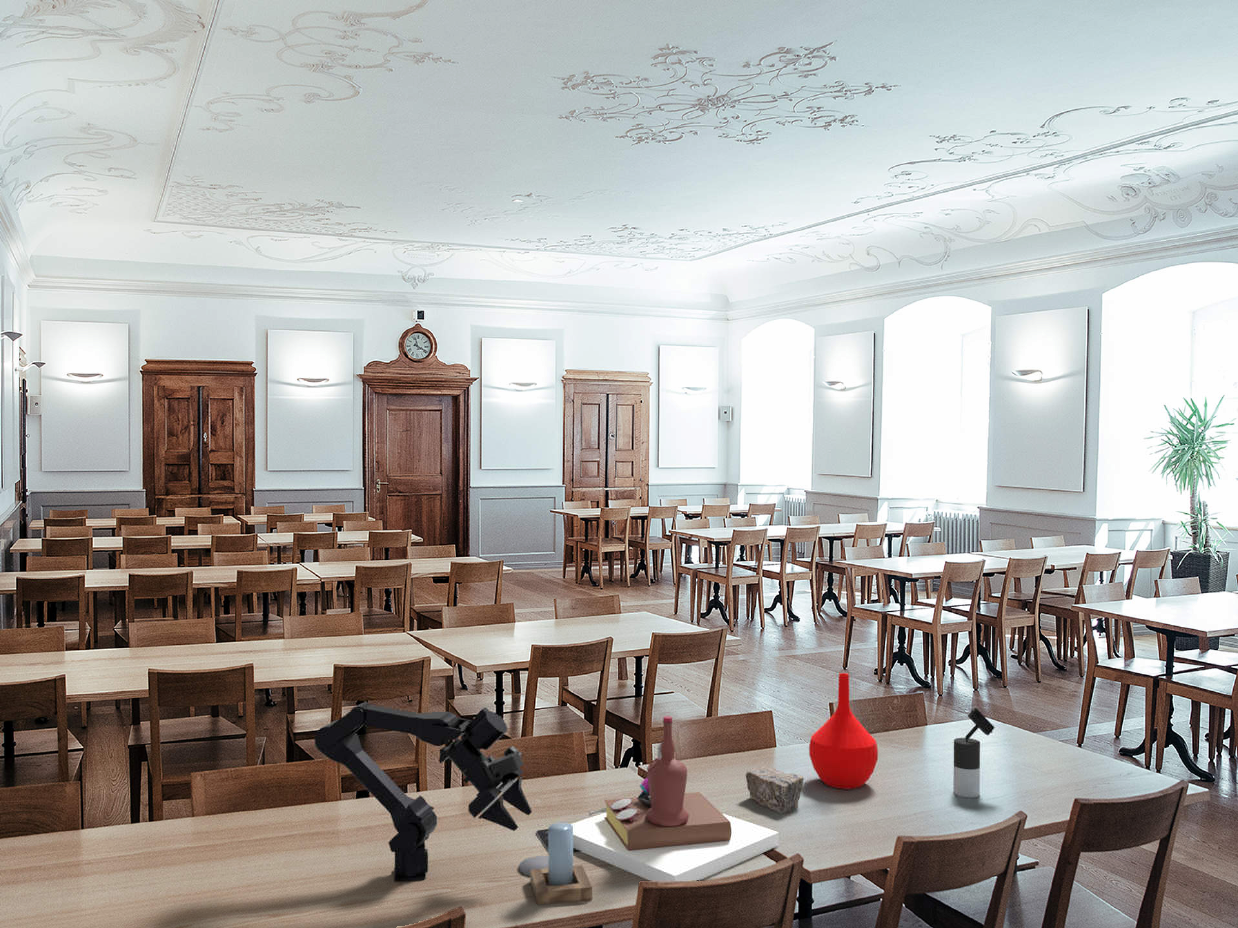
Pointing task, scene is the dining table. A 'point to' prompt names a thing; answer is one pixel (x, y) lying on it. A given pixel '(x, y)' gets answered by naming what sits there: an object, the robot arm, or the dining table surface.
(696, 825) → the decorative still life
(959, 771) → the track light
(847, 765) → the vase
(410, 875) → the robot arm
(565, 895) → the pocket block
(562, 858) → the pale blue cylinder
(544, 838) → the black cell phone
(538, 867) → the coaster
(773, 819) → the dining table surface
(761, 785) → the stone block
